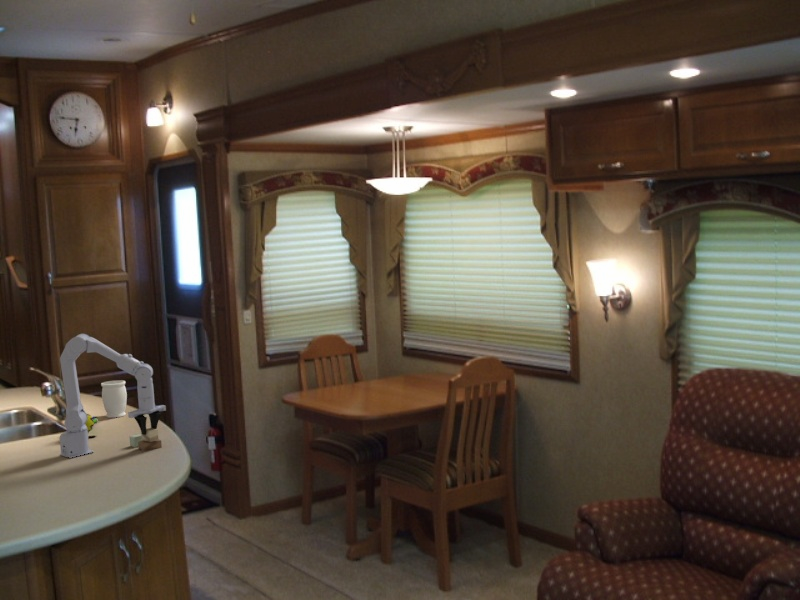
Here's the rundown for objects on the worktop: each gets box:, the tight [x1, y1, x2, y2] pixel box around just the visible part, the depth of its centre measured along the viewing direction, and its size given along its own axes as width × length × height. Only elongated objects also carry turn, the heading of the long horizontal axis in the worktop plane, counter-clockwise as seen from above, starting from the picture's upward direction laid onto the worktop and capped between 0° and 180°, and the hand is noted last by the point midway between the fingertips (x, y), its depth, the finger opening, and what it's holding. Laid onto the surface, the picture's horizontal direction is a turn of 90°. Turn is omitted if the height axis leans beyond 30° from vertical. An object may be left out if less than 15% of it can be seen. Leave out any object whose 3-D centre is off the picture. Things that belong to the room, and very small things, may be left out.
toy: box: [85, 412, 99, 438], centre depth 369 cm, size 9×10×30 cm
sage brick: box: [129, 433, 143, 448], centre depth 342 cm, size 6×4×4 cm, turn 135°
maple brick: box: [140, 426, 160, 442], centre depth 336 cm, size 6×4×4 cm, turn 46°
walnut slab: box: [137, 439, 163, 452], centre depth 336 cm, size 7×5×3 cm
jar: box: [100, 379, 128, 419], centre depth 395 cm, size 11×10×15 cm
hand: (149, 433), depth 336 cm, fingers closed on maple brick, 3 cm apart
